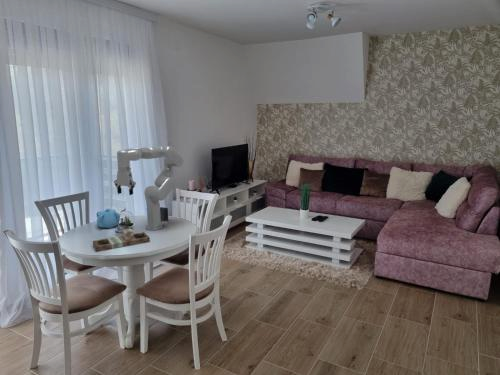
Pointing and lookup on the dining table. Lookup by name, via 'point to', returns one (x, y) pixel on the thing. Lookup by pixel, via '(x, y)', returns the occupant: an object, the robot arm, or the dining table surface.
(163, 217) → the small box
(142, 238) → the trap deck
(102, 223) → the decorative pot
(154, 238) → the dining table surface
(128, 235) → the birch block
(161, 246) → the dining table surface
